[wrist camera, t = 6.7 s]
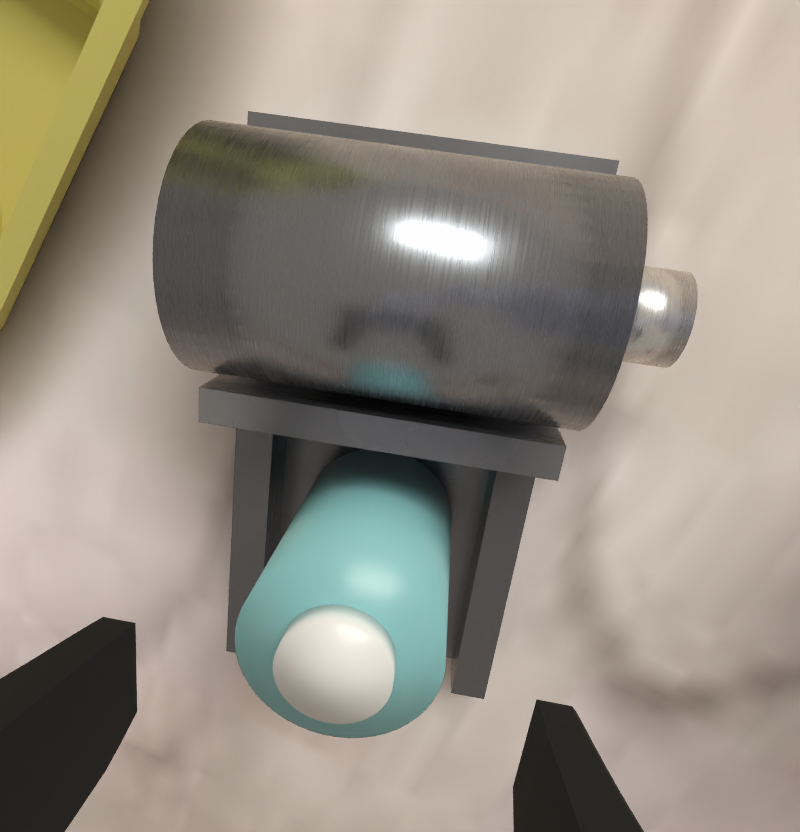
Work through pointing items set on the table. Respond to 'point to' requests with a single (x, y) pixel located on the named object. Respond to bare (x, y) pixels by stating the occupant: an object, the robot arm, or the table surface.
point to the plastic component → (51, 111)
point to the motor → (405, 324)
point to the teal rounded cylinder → (354, 601)
